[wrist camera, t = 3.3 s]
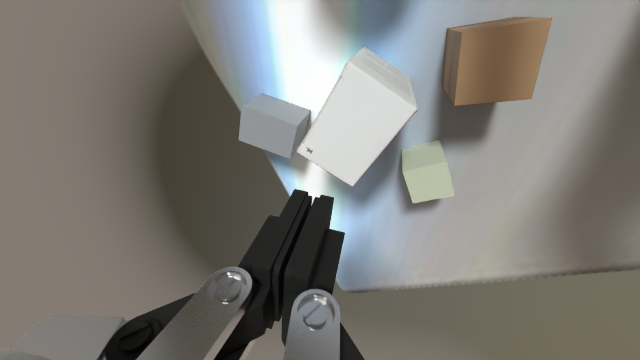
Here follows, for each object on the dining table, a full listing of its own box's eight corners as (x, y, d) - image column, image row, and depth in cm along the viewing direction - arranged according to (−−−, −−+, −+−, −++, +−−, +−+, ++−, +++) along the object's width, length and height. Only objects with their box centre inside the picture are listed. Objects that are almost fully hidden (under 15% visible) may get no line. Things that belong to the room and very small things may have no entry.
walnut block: (514, 16, 21) (552, 17, 16) (502, 81, 23) (531, 99, 18) (446, 28, 22) (462, 32, 17) (442, 87, 24) (454, 105, 20)
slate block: (311, 110, 29) (297, 125, 25) (303, 140, 31) (289, 159, 27) (262, 93, 29) (241, 105, 25) (258, 124, 32) (238, 139, 28)
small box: (364, 139, 29) (352, 190, 21) (323, 112, 29) (293, 153, 20) (412, 76, 25) (421, 109, 16) (364, 43, 24) (347, 59, 16)
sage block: (439, 139, 27) (446, 161, 23) (446, 170, 29) (454, 195, 25) (401, 149, 29) (402, 171, 25) (410, 178, 31) (412, 203, 26)
